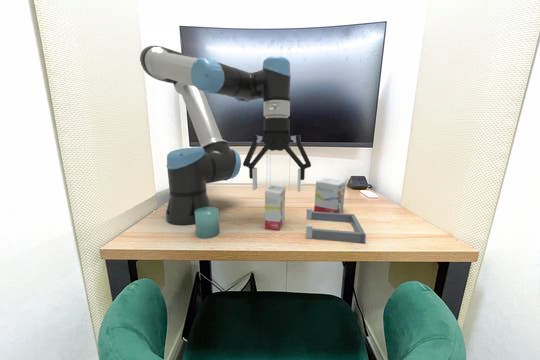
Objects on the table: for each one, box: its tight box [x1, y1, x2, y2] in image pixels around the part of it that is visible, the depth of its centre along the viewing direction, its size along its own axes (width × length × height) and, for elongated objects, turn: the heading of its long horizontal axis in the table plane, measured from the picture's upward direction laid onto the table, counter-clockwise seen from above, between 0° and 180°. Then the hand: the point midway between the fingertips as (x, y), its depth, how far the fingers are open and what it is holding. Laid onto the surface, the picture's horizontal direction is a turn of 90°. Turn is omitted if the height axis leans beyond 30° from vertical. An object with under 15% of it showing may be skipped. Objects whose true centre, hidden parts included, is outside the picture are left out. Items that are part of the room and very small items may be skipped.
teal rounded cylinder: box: [194, 206, 220, 240], centre depth 60 cm, size 6×6×7 cm
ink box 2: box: [313, 177, 346, 213], centre depth 78 cm, size 9×9×12 cm
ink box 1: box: [264, 184, 286, 231], centre depth 66 cm, size 9×5×12 cm, turn 165°
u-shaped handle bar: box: [305, 207, 367, 244], centre depth 64 cm, size 15×15×4 cm
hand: (276, 189), depth 65 cm, fingers open, 13 cm apart
